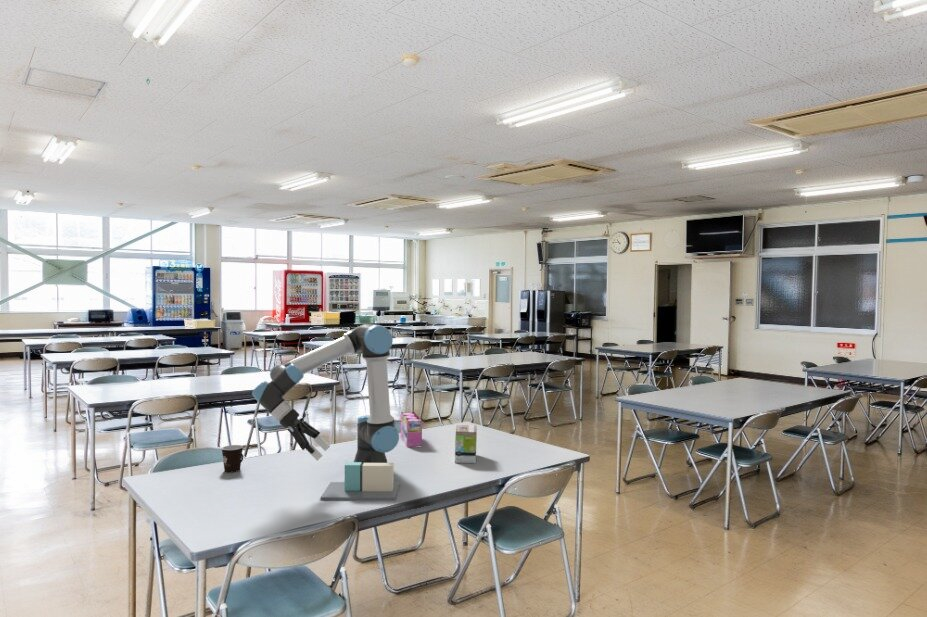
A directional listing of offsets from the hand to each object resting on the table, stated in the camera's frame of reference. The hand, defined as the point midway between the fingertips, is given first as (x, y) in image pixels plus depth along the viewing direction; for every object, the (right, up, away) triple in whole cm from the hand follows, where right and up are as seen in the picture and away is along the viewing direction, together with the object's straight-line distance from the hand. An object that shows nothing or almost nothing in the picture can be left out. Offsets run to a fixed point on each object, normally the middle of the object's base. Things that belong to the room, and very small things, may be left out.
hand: (324, 453), depth 232 cm
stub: (+11, -14, +1) cm, 18 cm away
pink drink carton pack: (+27, -14, +80) cm, 85 cm away
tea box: (+56, -15, +49) cm, 75 cm away
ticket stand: (+14, -15, +1) cm, 21 cm away
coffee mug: (-46, -14, +26) cm, 55 cm away
